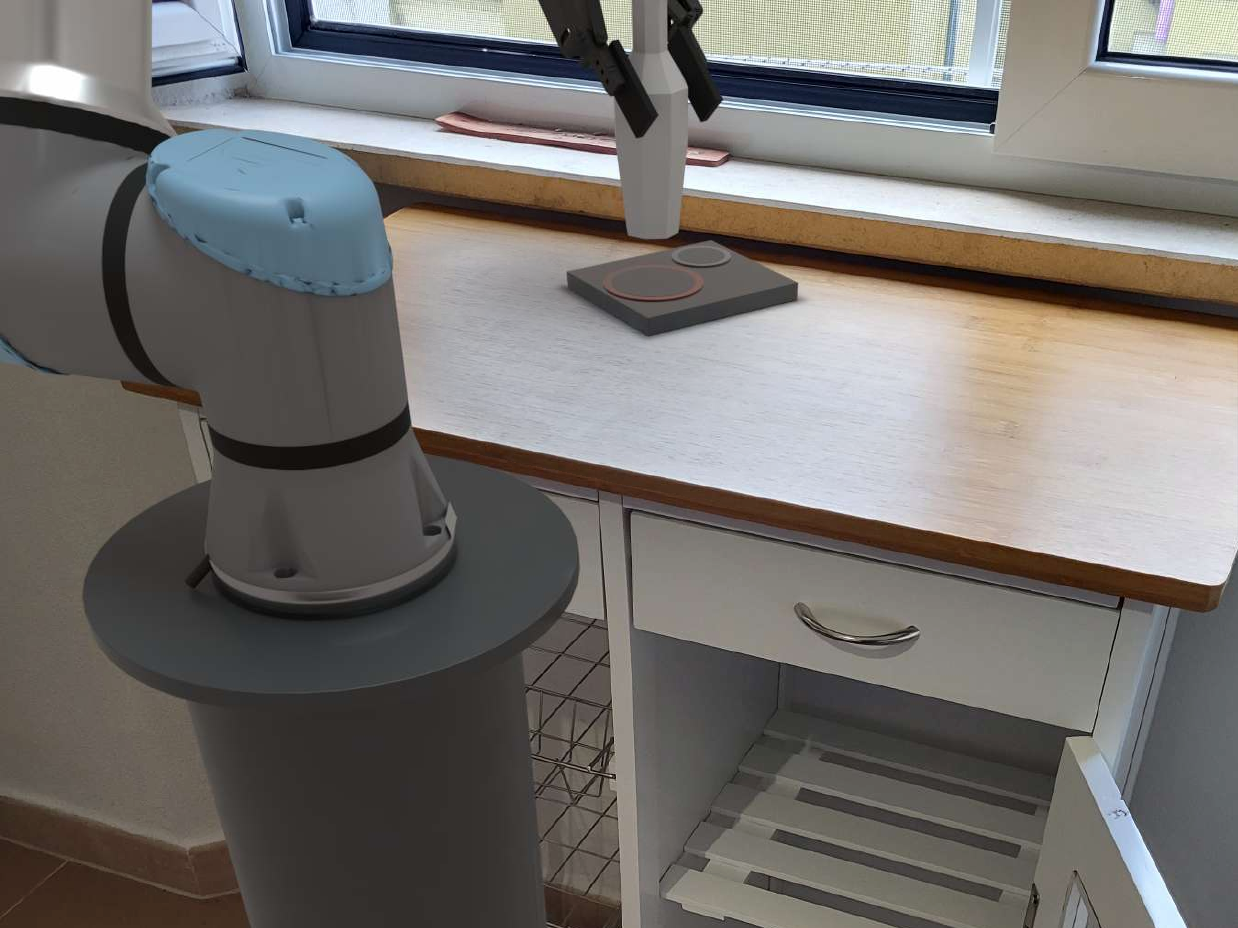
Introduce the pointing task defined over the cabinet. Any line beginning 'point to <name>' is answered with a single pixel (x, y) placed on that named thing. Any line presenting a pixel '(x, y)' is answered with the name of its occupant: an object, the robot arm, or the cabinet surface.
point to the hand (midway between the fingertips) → (679, 118)
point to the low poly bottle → (654, 131)
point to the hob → (681, 286)
